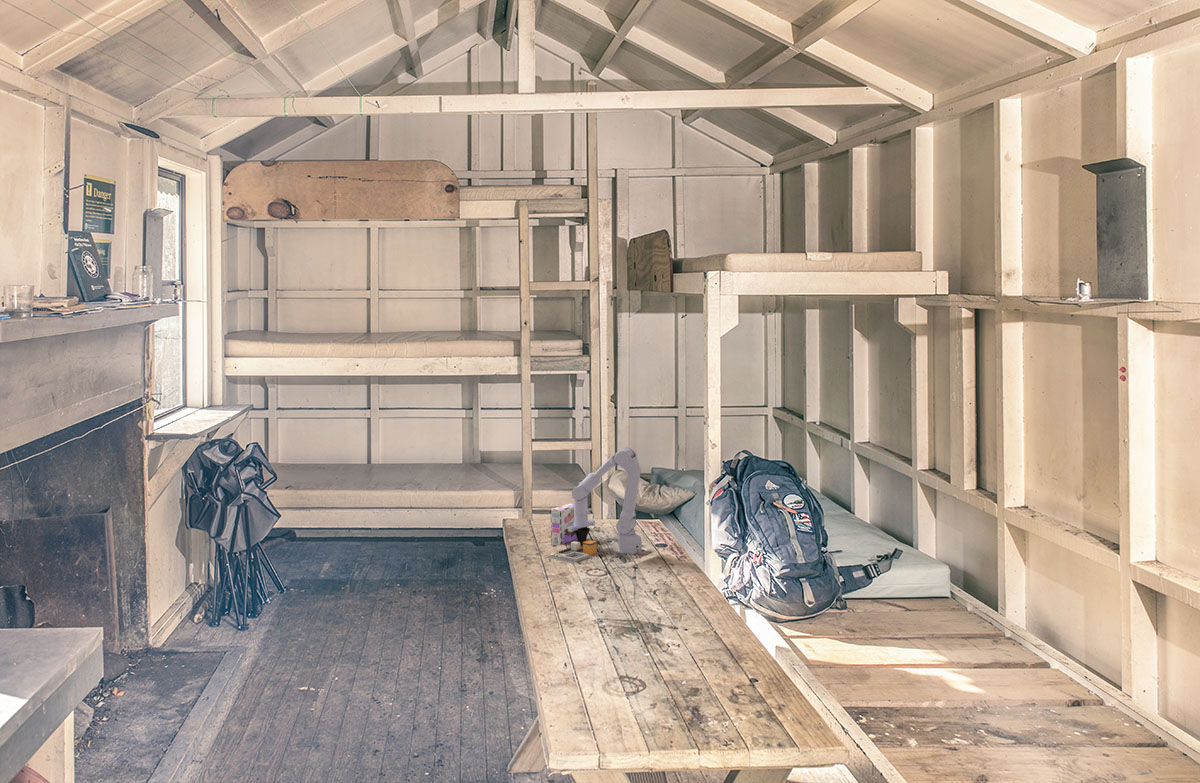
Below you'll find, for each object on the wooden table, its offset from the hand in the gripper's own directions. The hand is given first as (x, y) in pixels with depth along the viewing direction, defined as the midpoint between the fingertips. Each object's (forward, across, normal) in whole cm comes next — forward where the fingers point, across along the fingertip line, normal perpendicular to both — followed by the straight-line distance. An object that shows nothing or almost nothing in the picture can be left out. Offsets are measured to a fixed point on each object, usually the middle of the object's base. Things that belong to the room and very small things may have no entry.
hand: (582, 545), depth 395 cm
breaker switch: (+1, +4, 0) cm, 4 cm away
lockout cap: (+1, +4, +8) cm, 10 cm away
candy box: (+3, -6, -15) cm, 16 cm away
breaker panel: (+3, +10, +5) cm, 11 cm away
